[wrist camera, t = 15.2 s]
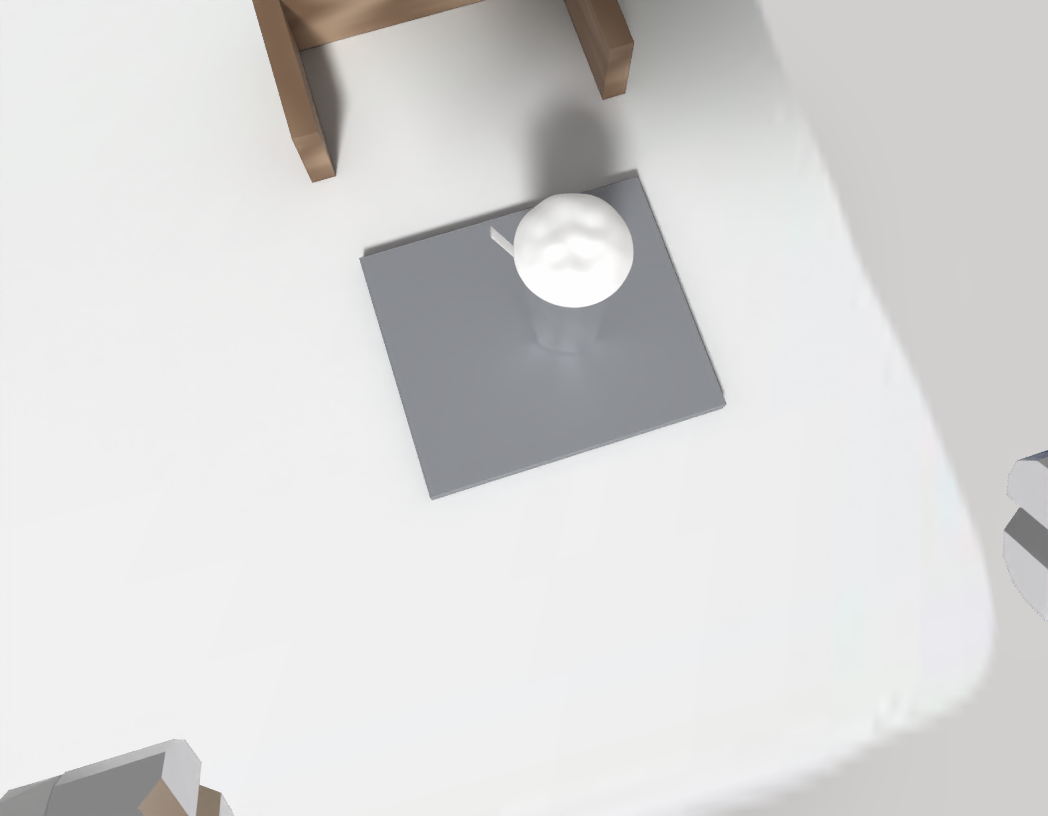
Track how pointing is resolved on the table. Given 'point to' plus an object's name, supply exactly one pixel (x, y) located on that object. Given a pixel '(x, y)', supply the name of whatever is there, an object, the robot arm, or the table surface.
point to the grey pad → (531, 353)
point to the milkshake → (569, 267)
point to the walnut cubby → (373, 3)
